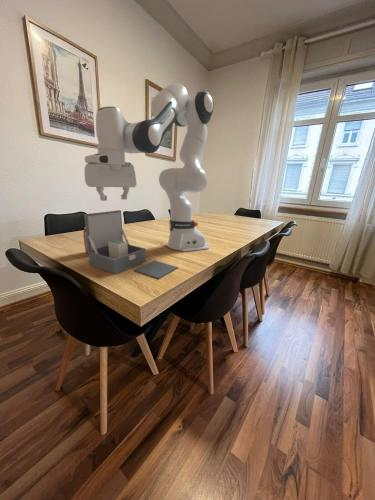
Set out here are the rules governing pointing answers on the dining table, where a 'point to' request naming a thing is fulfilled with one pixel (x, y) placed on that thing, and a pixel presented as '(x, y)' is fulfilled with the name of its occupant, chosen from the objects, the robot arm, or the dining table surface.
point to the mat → (156, 269)
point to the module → (117, 248)
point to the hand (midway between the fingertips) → (114, 200)
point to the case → (103, 231)
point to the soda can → (85, 240)
